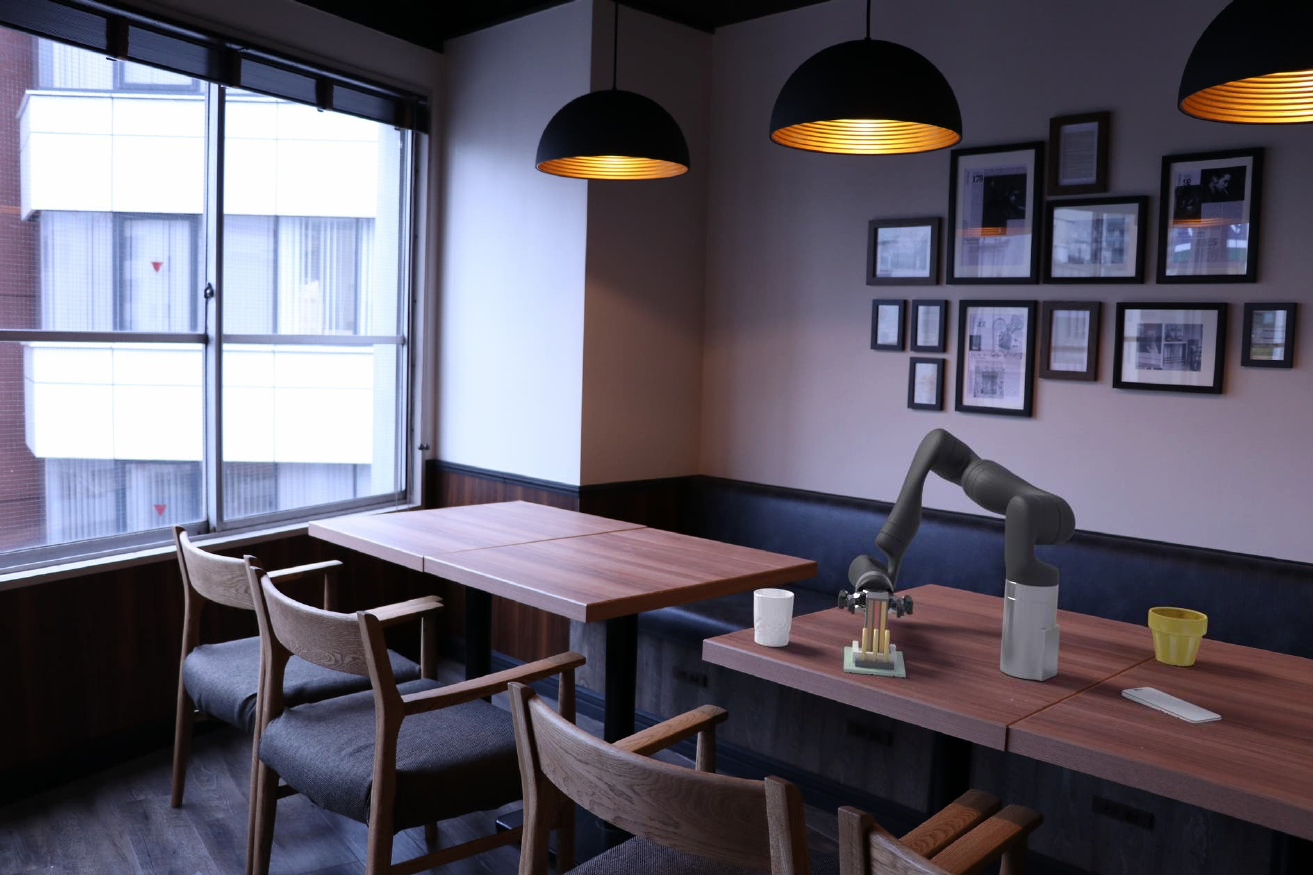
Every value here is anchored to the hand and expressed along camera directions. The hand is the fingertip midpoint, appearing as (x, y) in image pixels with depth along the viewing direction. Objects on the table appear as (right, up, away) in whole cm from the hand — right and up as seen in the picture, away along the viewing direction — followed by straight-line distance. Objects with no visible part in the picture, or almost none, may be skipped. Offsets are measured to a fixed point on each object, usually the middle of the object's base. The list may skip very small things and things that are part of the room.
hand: (876, 610), depth 196 cm
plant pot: (+60, -12, +8) cm, 62 cm away
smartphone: (+46, -14, -19) cm, 52 cm away
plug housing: (0, -9, 0) cm, 9 cm away
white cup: (-19, -8, +11) cm, 23 cm away
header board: (-1, -10, -1) cm, 10 cm away
